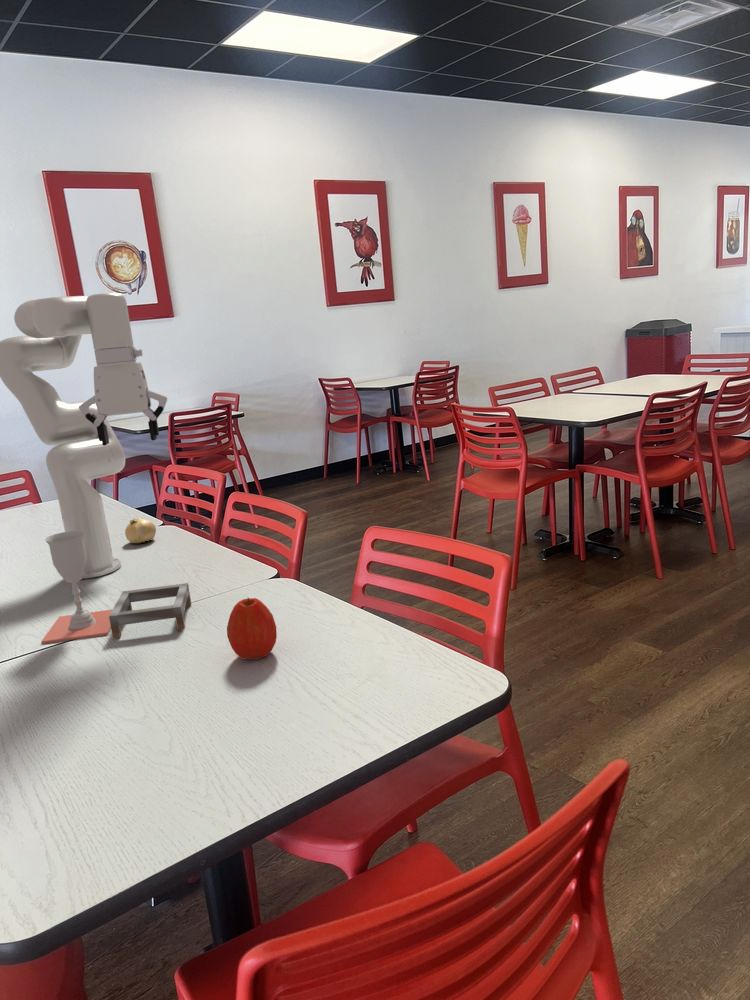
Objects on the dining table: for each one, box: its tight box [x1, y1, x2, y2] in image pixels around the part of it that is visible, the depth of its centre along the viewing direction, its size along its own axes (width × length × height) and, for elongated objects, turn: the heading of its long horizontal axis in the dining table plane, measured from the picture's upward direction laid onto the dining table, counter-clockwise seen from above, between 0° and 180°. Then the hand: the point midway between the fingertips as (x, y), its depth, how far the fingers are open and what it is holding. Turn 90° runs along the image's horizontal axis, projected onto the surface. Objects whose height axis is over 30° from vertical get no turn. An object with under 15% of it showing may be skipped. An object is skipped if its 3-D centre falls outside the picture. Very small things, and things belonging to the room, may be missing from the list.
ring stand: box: [109, 582, 192, 640], centre depth 139 cm, size 13×13×5 cm
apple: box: [226, 597, 277, 660], centre depth 119 cm, size 8×8×11 cm
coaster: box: [40, 608, 113, 645], centre depth 139 cm, size 12×12×1 cm
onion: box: [124, 517, 157, 544], centre depth 194 cm, size 8×8×7 cm
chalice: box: [44, 531, 96, 629], centre depth 137 cm, size 7×7×18 cm
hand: (130, 441), depth 146 cm, fingers open, 9 cm apart
